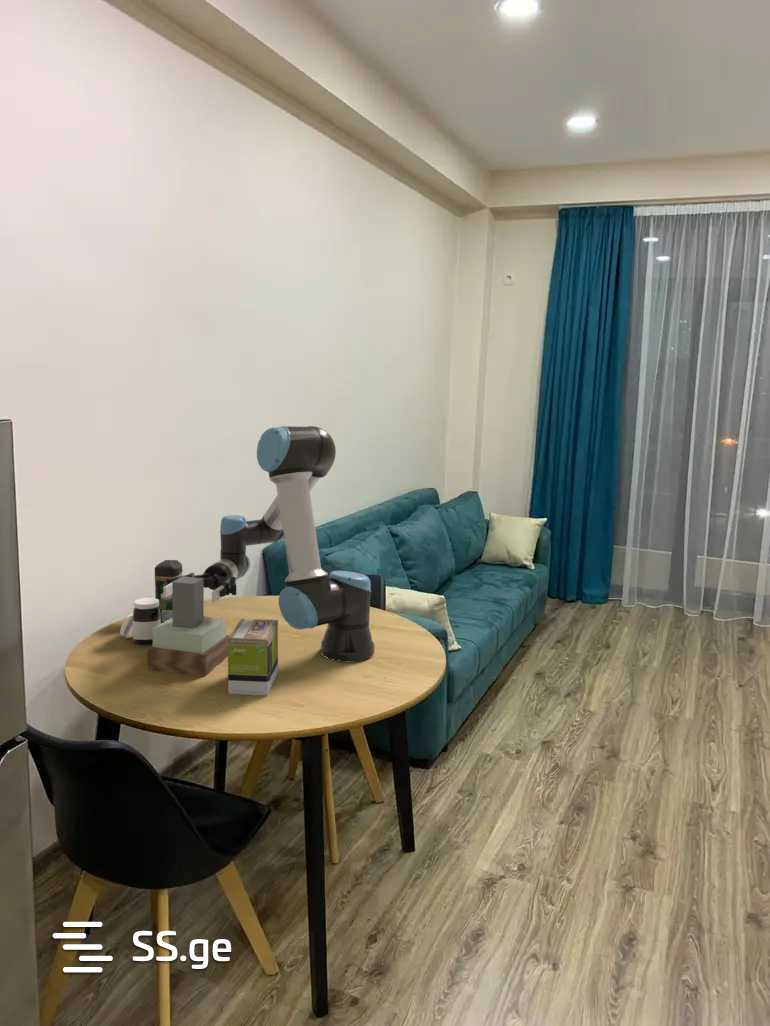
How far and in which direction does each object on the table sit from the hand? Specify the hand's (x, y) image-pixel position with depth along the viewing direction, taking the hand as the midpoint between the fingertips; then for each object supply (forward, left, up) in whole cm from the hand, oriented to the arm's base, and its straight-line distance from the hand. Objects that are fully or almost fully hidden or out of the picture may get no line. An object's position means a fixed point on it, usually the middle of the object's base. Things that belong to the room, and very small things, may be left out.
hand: (188, 594), depth 199 cm
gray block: (0, 0, -8) cm, 8 cm away
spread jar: (+24, 0, -19) cm, 30 cm away
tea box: (-23, -3, -19) cm, 30 cm away
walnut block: (0, 0, -19) cm, 19 cm away
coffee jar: (+34, -16, -19) cm, 42 cm away
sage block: (0, 0, -13) cm, 13 cm away
